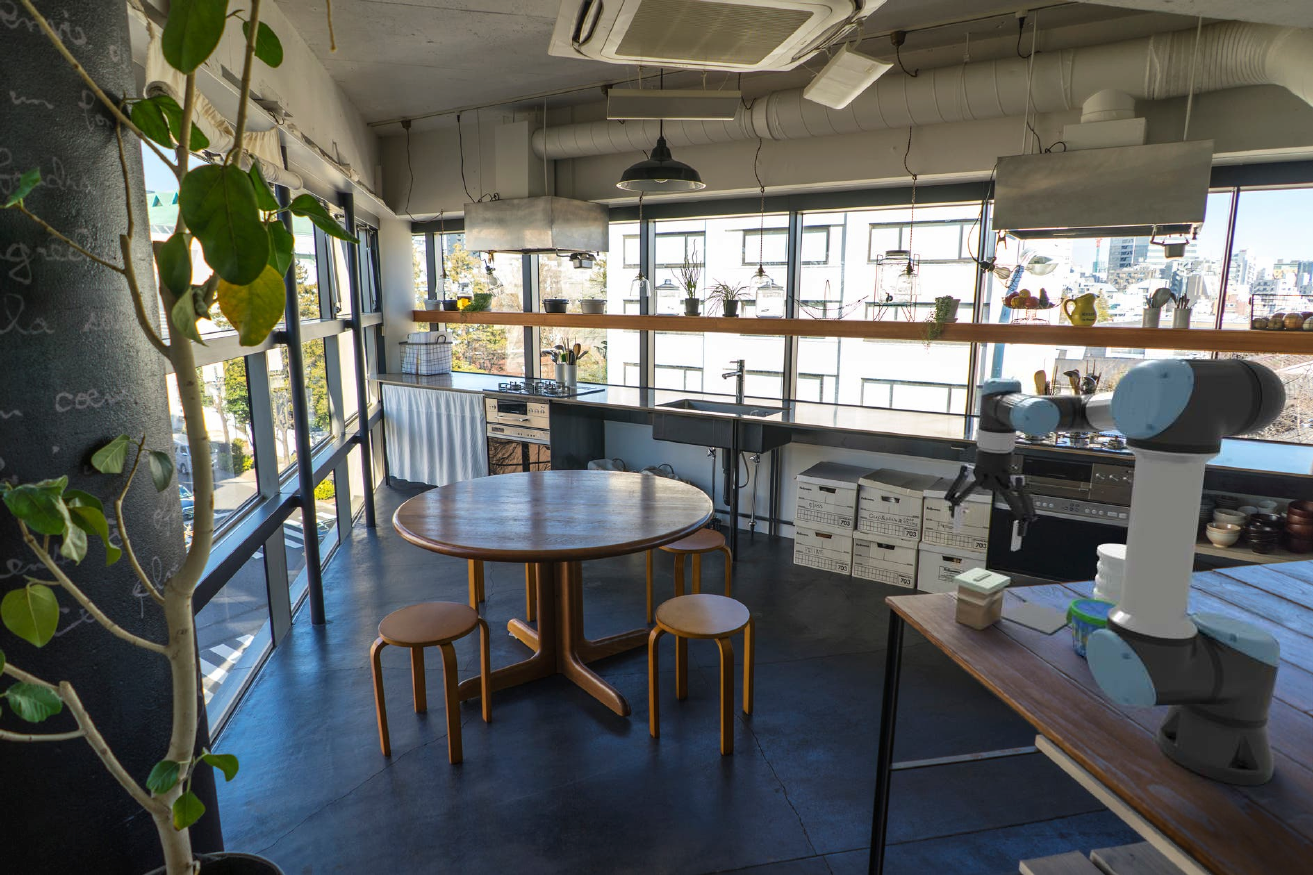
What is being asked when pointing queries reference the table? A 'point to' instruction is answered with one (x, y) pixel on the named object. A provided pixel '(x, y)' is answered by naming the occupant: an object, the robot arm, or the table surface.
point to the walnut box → (978, 607)
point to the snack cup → (1086, 620)
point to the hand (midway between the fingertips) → (985, 540)
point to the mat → (1036, 617)
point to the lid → (982, 580)
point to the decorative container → (1110, 573)
